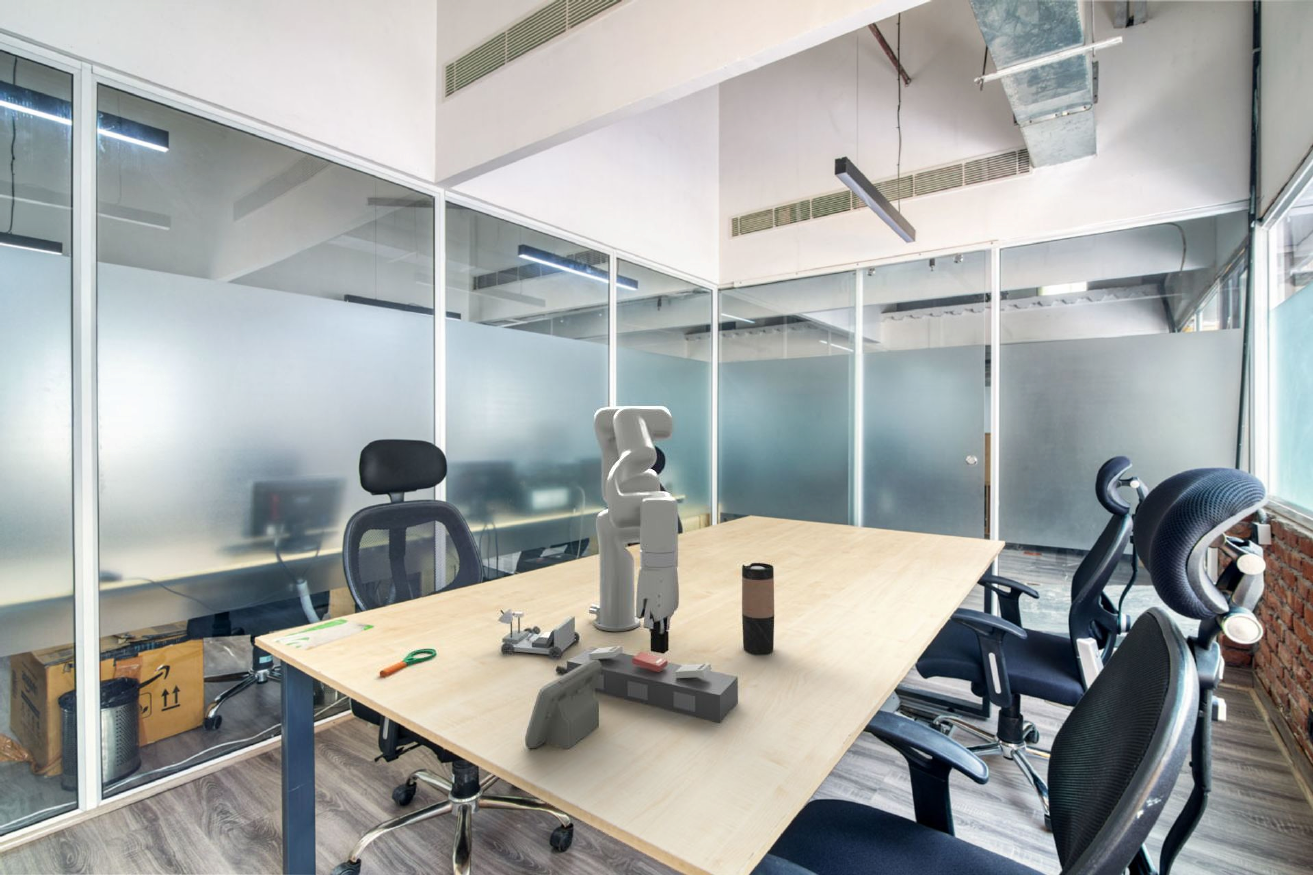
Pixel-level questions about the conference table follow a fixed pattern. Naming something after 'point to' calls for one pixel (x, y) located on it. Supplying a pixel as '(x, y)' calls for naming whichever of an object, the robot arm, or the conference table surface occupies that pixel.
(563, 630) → the toy car
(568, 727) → the digital clock
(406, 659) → the magnifying glass
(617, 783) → the conference table surface
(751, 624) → the travel mug
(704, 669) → the rocker right
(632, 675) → the power strip
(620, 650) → the rocker left
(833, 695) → the conference table surface
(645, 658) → the rocker middle
